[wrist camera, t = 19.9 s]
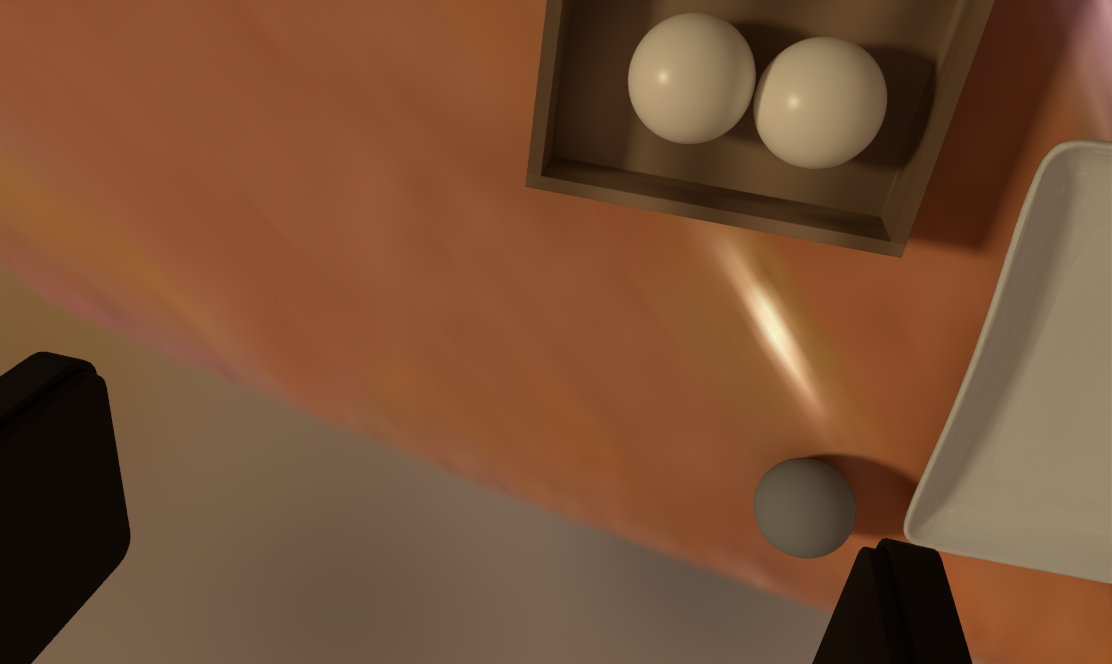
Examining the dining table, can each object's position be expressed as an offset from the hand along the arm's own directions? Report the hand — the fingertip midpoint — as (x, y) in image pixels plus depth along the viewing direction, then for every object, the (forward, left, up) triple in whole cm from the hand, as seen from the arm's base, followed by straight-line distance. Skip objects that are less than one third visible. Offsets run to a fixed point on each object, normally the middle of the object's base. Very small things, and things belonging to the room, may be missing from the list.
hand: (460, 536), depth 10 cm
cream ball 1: (0, 0, -29) cm, 29 cm away
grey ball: (-12, +20, -30) cm, 38 cm away
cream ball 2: (-7, 0, -30) cm, 31 cm away
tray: (-4, 0, -30) cm, 31 cm away
